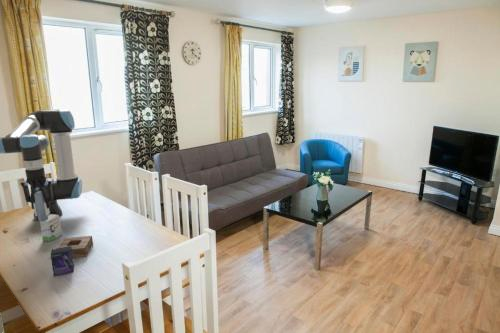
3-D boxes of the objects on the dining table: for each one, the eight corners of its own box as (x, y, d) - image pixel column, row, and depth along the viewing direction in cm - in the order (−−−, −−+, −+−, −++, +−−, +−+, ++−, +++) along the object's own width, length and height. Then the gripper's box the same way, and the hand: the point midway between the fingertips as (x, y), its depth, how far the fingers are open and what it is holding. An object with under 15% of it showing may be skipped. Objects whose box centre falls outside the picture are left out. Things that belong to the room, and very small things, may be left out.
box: (53, 276, 149) (49, 254, 146) (54, 270, 154) (51, 248, 151) (74, 272, 152) (70, 250, 149) (74, 266, 157) (71, 244, 154)
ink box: (54, 233, 189) (51, 213, 186) (62, 234, 188) (59, 214, 185) (42, 240, 181) (38, 220, 178) (51, 241, 180) (47, 220, 177)
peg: (40, 218, 169) (36, 191, 165) (49, 217, 170) (44, 190, 166) (37, 221, 165) (32, 194, 162) (46, 221, 166) (41, 193, 162)
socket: (66, 246, 175) (64, 237, 173) (93, 244, 177) (91, 235, 175) (56, 260, 162) (55, 250, 161) (86, 257, 164) (84, 247, 163)
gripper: (10, 171, 156) (19, 219, 162) (50, 169, 158) (58, 216, 164) (18, 167, 163) (27, 212, 169) (57, 165, 166) (64, 210, 172)
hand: (42, 214), depth 167 cm, fingers closed on peg, 4 cm apart
